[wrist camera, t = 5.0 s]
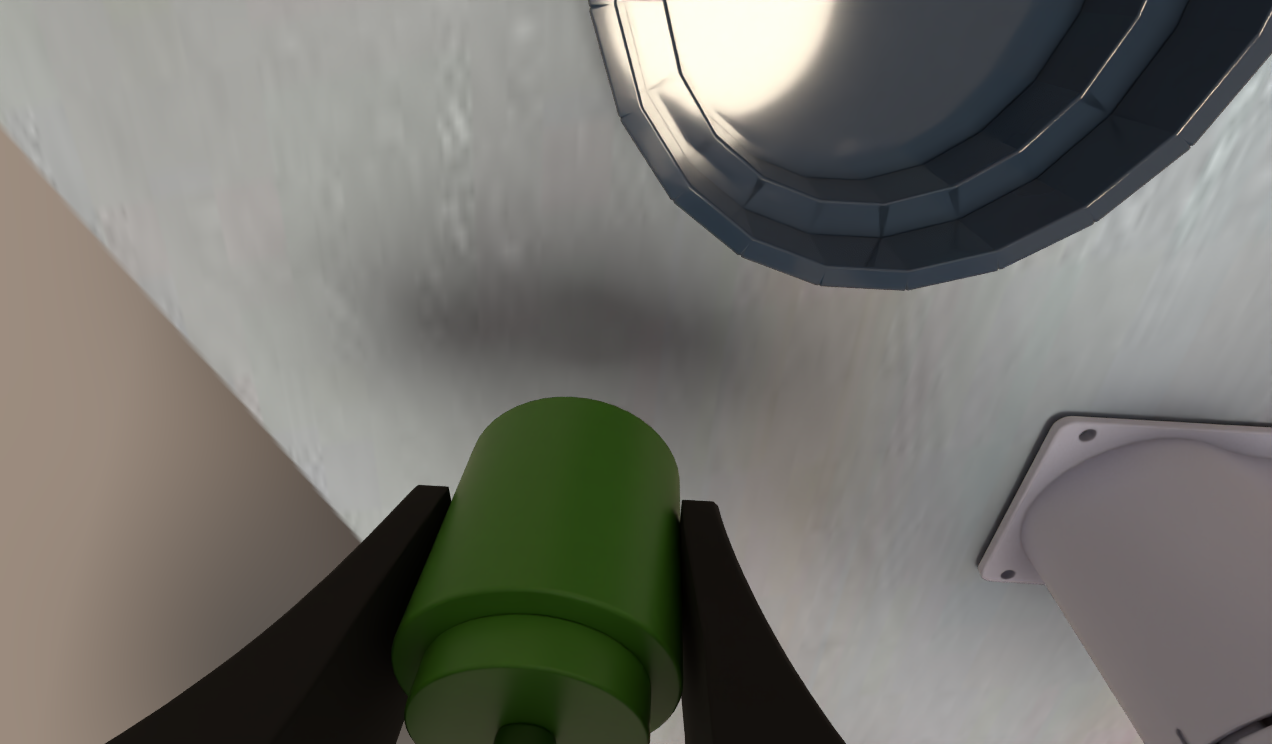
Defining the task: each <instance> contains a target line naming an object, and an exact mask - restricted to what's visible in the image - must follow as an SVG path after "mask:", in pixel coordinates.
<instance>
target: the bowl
mask: <svg viewBox="0 0 1272 744" xmlns="http://www.w3.org/2000/svg"><path fill="white" fill-rule="evenodd" d="M588 3H589V6H590V15H591V19H592V22H593V26H594V29H595V33H596V37H597V40H598V44H599V47H600V51H601V55H602V58H603V62H604V65H605V69H606V72H607V76H608V80H609V83H610V87H611V90H612V94H613V98H614V101H615V105H616V108H617V112H618V115H619V117H620V118H621V122H622V124H623V125H624V127H625V129H626V130H627V132H628V133H629V135H630V136H631V138H632V139H633V141H634V143H635V144H636V146H637V147H638V149H639V150H640V152H641V154H642V155H643V157H644V158H645V160H646V161H647V163H648V165H649V166H650V168H651V169H652V171H653V172H654V174H655V176H656V177H657V179H658V180H659V182H660V183H661V185H662V187H663V188H664V190H665V191H666V193H667V194H668V196H669V198H670V199H671V200H673V202H674V203H675V204H676V205H677V206H678V207H680V208H681V209H682V210H683V211H684V212H686V213H687V214H688V215H689V216H691V217H692V218H693V219H694V220H696V221H697V222H698V223H699V224H700V225H702V226H703V227H704V228H705V229H707V230H708V231H709V232H710V233H711V234H713V235H714V236H715V237H716V238H718V239H719V240H720V241H721V242H723V243H724V244H725V245H726V246H727V247H729V248H730V249H731V250H732V251H734V252H735V253H736V254H737V255H741V257H742V258H745V259H748V260H750V261H753V262H756V263H758V264H761V265H764V266H766V267H769V268H772V269H774V270H777V271H780V272H782V273H785V274H788V275H790V276H793V277H796V278H798V279H801V280H804V281H806V282H809V283H812V284H814V285H820V286H828V287H846V288H865V289H883V290H902V291H904V290H905V289H906V290H912V289H917V288H921V287H926V286H930V285H935V284H939V283H944V282H948V281H953V280H957V279H962V278H967V277H971V276H976V275H980V274H985V273H989V272H994V271H997V270H998V269H1003V268H1005V267H1007V266H1009V265H1011V264H1013V263H1015V262H1017V261H1019V260H1021V259H1023V258H1025V257H1027V256H1029V255H1031V254H1033V253H1035V252H1037V251H1039V250H1041V249H1044V248H1046V247H1048V246H1050V245H1052V244H1054V243H1056V242H1058V241H1060V240H1062V239H1064V238H1066V237H1068V236H1070V235H1072V234H1074V233H1076V232H1078V231H1080V230H1083V229H1085V228H1087V227H1089V226H1091V225H1093V224H1094V222H1097V221H1099V220H1100V219H1101V218H1103V217H1104V216H1105V215H1107V214H1108V213H1109V212H1110V211H1112V210H1113V209H1114V208H1115V207H1117V206H1118V205H1119V204H1121V203H1122V202H1123V201H1124V200H1126V199H1127V198H1128V197H1129V196H1131V195H1132V194H1133V193H1135V192H1136V191H1137V190H1138V189H1140V188H1141V187H1142V186H1143V185H1145V184H1146V183H1147V182H1149V181H1150V180H1151V179H1152V178H1154V177H1155V176H1156V175H1157V174H1159V173H1160V172H1161V171H1163V170H1164V169H1165V168H1166V167H1168V166H1169V165H1170V164H1171V163H1173V162H1174V161H1175V160H1177V159H1178V158H1179V157H1180V156H1182V155H1183V154H1184V153H1185V152H1187V151H1188V150H1189V149H1190V146H1193V145H1194V144H1195V143H1196V142H1197V141H1198V140H1199V139H1200V137H1201V136H1202V135H1203V134H1204V133H1205V132H1206V130H1207V129H1208V128H1209V127H1210V126H1211V125H1212V123H1213V122H1214V121H1215V120H1216V119H1217V117H1218V116H1219V115H1220V114H1221V113H1222V112H1223V110H1224V109H1225V108H1226V107H1227V106H1228V105H1229V103H1230V102H1231V101H1232V100H1233V99H1234V97H1235V96H1236V95H1237V94H1238V93H1239V92H1240V90H1241V89H1242V88H1243V87H1244V86H1245V85H1246V83H1247V82H1248V81H1249V80H1250V79H1251V77H1252V76H1253V75H1254V74H1255V73H1256V72H1257V70H1258V69H1259V68H1260V67H1261V66H1262V65H1263V63H1264V62H1265V61H1266V60H1267V59H1268V57H1269V56H1270V55H1271V54H1272V0H588Z"/></svg>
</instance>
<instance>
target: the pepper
mask: <svg viewBox="0 0 1272 744" xmlns="http://www.w3.org/2000/svg"><path fill="white" fill-rule="evenodd" d="M391 662H392V667H393V671H394V674H395V677H396V679H397V681H398V683H399V685H400V686H401V688H402V689H403V691H404V692H405V694H406V695H407V696H408V699H407V702H406V705H405V708H404V721H405V725H406V729H407V731H408V733H409V735H410V737H411V738H412V740H413V741H414V743H415V744H649V743H650V733H651V732H653V731H654V730H656V729H657V728H659V727H660V726H661V725H662V724H663V723H664V722H666V721H667V720H668V718H669V717H670V716H671V715H672V713H673V712H674V711H675V709H676V707H677V705H678V703H679V701H680V699H681V695H682V691H683V633H682V582H681V558H680V480H679V473H678V467H677V465H676V462H675V459H674V457H673V455H672V453H671V451H670V449H669V447H668V446H667V445H666V443H665V442H664V441H663V439H662V438H661V437H660V436H659V435H658V434H657V433H656V432H655V431H654V430H653V429H652V428H651V427H650V426H649V425H648V424H646V423H645V422H644V421H642V420H641V419H640V418H638V417H636V416H635V415H633V414H631V413H630V412H628V411H625V410H623V409H621V408H619V407H617V406H614V405H611V404H608V403H605V402H602V401H597V400H592V399H588V398H579V397H552V398H543V399H539V400H534V401H530V402H527V403H524V404H522V405H519V406H516V407H514V408H513V409H511V410H509V411H507V412H505V413H503V414H502V415H501V416H499V417H498V418H496V419H495V420H494V421H493V422H492V423H491V424H490V425H489V426H488V427H487V428H486V429H485V430H484V431H483V433H482V434H481V435H480V437H479V439H478V441H477V443H476V445H475V447H474V449H473V451H472V454H471V456H470V458H469V461H468V463H467V466H466V468H465V470H464V473H463V475H462V477H461V480H460V482H459V485H458V487H457V489H456V492H455V494H454V496H453V499H452V501H451V504H450V506H449V508H448V511H447V513H446V515H445V518H444V520H443V523H442V525H441V527H440V530H439V532H438V534H437V537H436V539H435V542H434V544H433V546H432V549H431V551H430V554H429V556H428V558H427V561H426V563H425V565H424V568H423V570H422V573H421V575H420V577H419V580H418V582H417V584H416V587H415V589H414V592H413V594H412V596H411V599H410V601H409V603H408V606H407V608H406V611H405V613H404V615H403V618H402V620H401V622H400V625H399V627H398V630H397V632H396V634H395V637H394V640H393V644H392V649H391Z"/></svg>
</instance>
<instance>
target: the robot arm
mask: <svg viewBox="0 0 1272 744" xmlns="http://www.w3.org/2000/svg"><path fill="white" fill-rule="evenodd" d="M1085 430H1087V431H1086V432H1084V433H1082V432H1083V431H1085ZM1081 433H1082V434H1081ZM450 504H451V497H450V492H449V487H445V486H427V485H418V486H416V487H415V488H414V489H413V490H412V491H411V492H410V493H409V494H408V495H407V496H406V497H405V498H404V499H403V500H402V501H401V502H400V504H399V505H398V506H397V507H396V508H395V509H394V510H393V511H392V512H391V513H390V514H389V515H388V516H387V517H386V518H385V519H384V520H383V521H382V522H381V523H380V524H379V525H378V526H377V527H376V528H375V529H374V530H373V532H372V533H371V534H370V535H369V536H368V537H367V538H366V539H365V540H364V541H363V542H362V543H361V544H360V545H359V546H358V547H357V548H356V549H355V550H354V551H353V552H351V553H350V554H349V555H348V556H347V557H346V558H345V559H344V560H343V561H342V562H341V563H340V564H339V565H338V566H337V567H336V568H335V569H334V570H333V571H332V572H331V573H330V574H329V575H328V576H327V577H326V578H325V579H324V580H323V581H321V582H320V583H319V584H318V585H317V586H316V587H315V588H313V589H312V590H311V591H310V592H309V593H308V594H307V595H306V596H305V597H304V598H302V599H301V600H300V601H299V602H298V603H297V604H296V605H295V606H294V607H292V608H291V609H290V610H289V611H288V612H287V613H286V614H284V615H283V616H282V617H281V618H280V619H278V620H277V621H276V622H275V623H274V624H273V625H271V626H270V627H269V628H268V629H266V630H265V631H264V632H263V633H262V634H260V635H259V636H258V637H257V638H255V639H254V640H253V641H252V642H250V643H249V644H248V645H246V646H245V647H244V648H243V649H241V650H240V651H239V652H238V653H236V654H235V655H234V656H232V657H231V658H230V659H229V660H227V661H226V662H224V663H223V664H222V665H220V666H219V667H218V668H216V669H215V670H214V671H212V672H211V673H209V674H208V675H207V676H205V677H204V678H202V679H201V680H200V681H198V682H197V683H195V684H194V685H193V686H191V687H190V688H188V689H187V690H186V691H184V692H183V693H181V694H180V695H179V696H177V697H176V698H174V699H173V700H171V701H170V702H169V703H167V704H166V705H164V706H163V707H161V708H160V709H158V710H157V711H155V712H154V713H152V714H151V715H149V716H147V717H146V718H145V719H143V720H141V721H140V722H138V723H137V724H135V725H134V726H132V727H131V728H129V729H128V730H126V731H124V732H123V733H121V734H120V735H118V736H117V737H115V738H113V739H112V740H110V741H108V742H107V743H106V744H396V742H397V739H398V736H399V733H400V730H401V728H402V724H403V722H404V708H405V705H406V702H407V699H408V696H407V695H406V694H405V692H404V691H403V689H402V688H401V686H400V685H399V683H398V681H397V679H396V677H395V674H394V671H393V667H392V662H391V649H392V644H393V640H394V637H395V634H396V632H397V630H398V627H399V625H400V622H401V620H402V618H403V615H404V613H405V611H406V608H407V606H408V603H409V601H410V599H411V596H412V594H413V592H414V589H415V587H416V584H417V582H418V580H419V577H420V575H421V573H422V570H423V568H424V565H425V563H426V561H427V558H428V556H429V554H430V551H431V549H432V546H433V544H434V542H435V539H436V537H437V534H438V532H439V530H440V527H441V525H442V523H443V520H444V518H445V515H446V513H447V511H448V508H449V506H450ZM680 558H681V582H682V633H683V691H682V695H681V698H682V710H683V721H684V732H685V744H846V743H845V742H844V740H843V739H842V738H841V736H840V735H839V734H838V732H837V731H836V730H835V728H834V727H833V726H832V724H831V723H830V722H829V720H828V719H827V717H826V716H825V714H824V713H823V711H822V710H821V708H820V707H819V705H818V704H817V703H816V701H815V700H814V698H813V697H812V695H811V694H810V692H809V691H808V689H807V688H806V686H805V684H804V683H803V681H802V680H801V678H800V677H799V675H798V673H797V672H796V670H795V669H794V667H793V665H792V664H791V662H790V661H789V659H788V657H787V656H786V654H785V652H784V650H783V649H782V647H781V645H780V644H779V642H778V640H777V638H776V636H775V635H774V633H773V631H772V629H771V627H770V626H769V624H768V622H767V620H766V618H765V616H764V615H763V613H762V611H761V609H760V607H759V605H758V603H757V601H756V599H755V597H754V595H753V593H752V591H751V589H750V586H749V584H748V582H747V580H746V578H745V576H744V574H743V572H742V570H741V567H740V565H739V563H738V561H737V558H736V556H735V553H734V551H733V548H732V546H731V544H730V541H729V538H728V536H727V533H726V530H725V527H724V525H723V521H722V518H721V515H720V512H719V508H718V506H717V505H716V504H715V503H714V502H712V501H695V500H682V506H681V516H680ZM978 571H979V573H980V575H981V576H982V578H983V579H985V580H988V581H996V582H1012V583H1028V584H1044V585H1046V587H1047V588H1048V590H1049V592H1050V593H1051V595H1052V596H1053V598H1054V600H1055V601H1056V603H1057V604H1058V606H1059V608H1060V609H1061V611H1062V612H1063V614H1064V616H1065V617H1066V619H1067V620H1068V622H1069V624H1070V625H1071V627H1072V628H1073V630H1074V632H1075V633H1076V635H1077V636H1078V638H1079V640H1080V641H1081V643H1082V644H1083V646H1084V648H1085V649H1086V651H1087V652H1088V654H1089V656H1090V657H1091V659H1092V660H1093V662H1094V664H1095V665H1096V667H1097V668H1098V670H1099V672H1100V673H1101V675H1102V676H1103V678H1104V680H1105V681H1106V683H1107V684H1108V686H1109V688H1110V689H1111V691H1112V692H1113V694H1114V696H1115V697H1116V699H1117V700H1118V702H1119V704H1120V705H1121V707H1122V708H1123V710H1124V712H1125V713H1126V715H1127V716H1128V718H1129V720H1130V721H1131V723H1132V724H1133V726H1134V728H1135V729H1136V731H1137V732H1138V734H1139V736H1140V737H1141V739H1142V740H1143V742H1144V744H1272V427H1255V426H1238V425H1221V424H1203V423H1186V422H1168V421H1151V420H1133V419H1116V418H1099V417H1081V416H1068V417H1064V418H1061V419H1059V420H1058V421H1056V422H1055V423H1054V424H1053V426H1052V427H1051V429H1050V431H1049V432H1048V434H1047V436H1046V438H1045V440H1044V442H1043V444H1042V446H1041V448H1040V450H1039V451H1038V453H1037V455H1036V457H1035V459H1034V461H1033V463H1032V465H1031V467H1030V469H1029V470H1028V472H1027V474H1026V476H1025V478H1024V480H1023V482H1022V484H1021V486H1020V488H1019V490H1018V491H1017V493H1016V495H1015V497H1014V499H1013V501H1012V503H1011V505H1010V507H1009V509H1008V510H1007V512H1006V514H1005V516H1004V518H1003V520H1002V522H1001V524H1000V526H999V528H998V529H997V531H996V533H995V535H994V537H993V539H992V541H991V543H990V545H989V547H988V548H987V550H986V552H985V554H984V556H983V558H982V560H981V562H980V564H979V566H978Z"/></svg>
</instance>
